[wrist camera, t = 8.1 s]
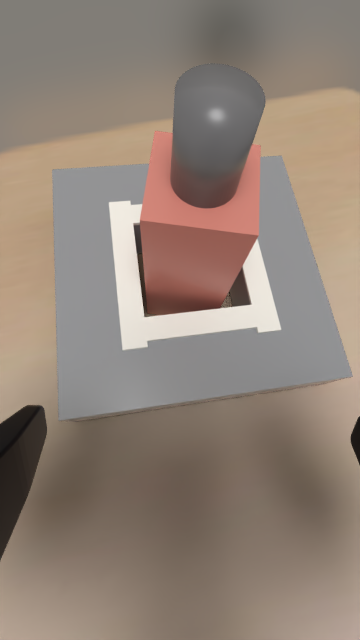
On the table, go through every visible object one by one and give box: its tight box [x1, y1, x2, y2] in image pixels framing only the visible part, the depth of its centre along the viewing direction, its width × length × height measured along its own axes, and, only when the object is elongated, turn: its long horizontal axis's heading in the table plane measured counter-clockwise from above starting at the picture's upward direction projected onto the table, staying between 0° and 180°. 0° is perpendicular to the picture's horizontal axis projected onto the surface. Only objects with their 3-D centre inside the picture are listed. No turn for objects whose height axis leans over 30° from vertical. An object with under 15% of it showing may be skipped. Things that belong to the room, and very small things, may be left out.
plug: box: [140, 64, 265, 315], centre depth 14 cm, size 4×4×12 cm
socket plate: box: [52, 156, 353, 422], centre depth 18 cm, size 14×14×3 cm
